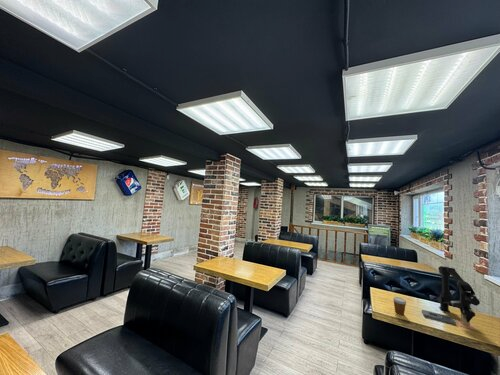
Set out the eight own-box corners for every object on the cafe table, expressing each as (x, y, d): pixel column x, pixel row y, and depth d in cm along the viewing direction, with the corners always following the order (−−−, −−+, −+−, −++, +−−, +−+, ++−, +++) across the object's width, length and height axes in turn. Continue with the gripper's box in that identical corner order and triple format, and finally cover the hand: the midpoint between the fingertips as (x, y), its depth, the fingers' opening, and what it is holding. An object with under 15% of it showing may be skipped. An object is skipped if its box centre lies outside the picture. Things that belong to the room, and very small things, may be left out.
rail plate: (421, 311, 184) (421, 309, 184) (451, 319, 174) (451, 316, 174) (424, 316, 176) (424, 314, 176) (456, 325, 166) (455, 322, 166)
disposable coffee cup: (400, 317, 173) (400, 302, 174) (390, 311, 182) (390, 297, 183) (409, 316, 176) (409, 301, 176) (398, 310, 185) (398, 296, 186)
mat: (454, 320, 173) (454, 319, 173) (471, 324, 168) (471, 323, 168) (459, 325, 165) (459, 325, 165) (477, 330, 160) (477, 329, 160)
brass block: (461, 322, 169) (460, 312, 170) (467, 324, 167) (467, 314, 168) (462, 324, 166) (462, 314, 166) (469, 326, 164) (469, 316, 164)
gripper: (448, 292, 180) (448, 311, 179) (455, 301, 164) (456, 321, 163) (465, 296, 174) (465, 315, 173) (475, 305, 158) (475, 326, 157)
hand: (465, 319), depth 167 cm, fingers open, 9 cm apart
